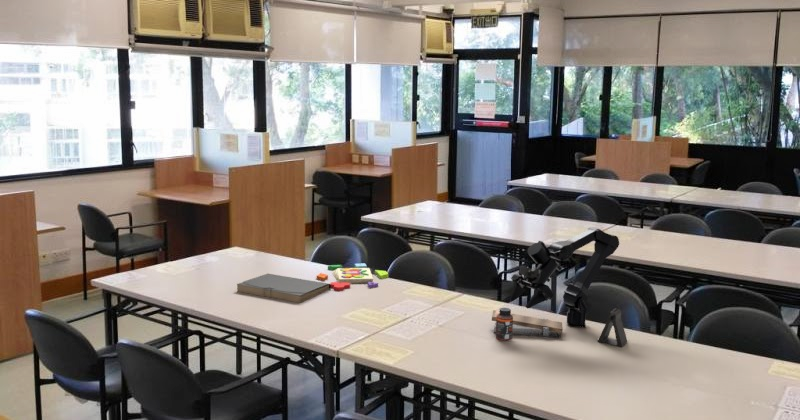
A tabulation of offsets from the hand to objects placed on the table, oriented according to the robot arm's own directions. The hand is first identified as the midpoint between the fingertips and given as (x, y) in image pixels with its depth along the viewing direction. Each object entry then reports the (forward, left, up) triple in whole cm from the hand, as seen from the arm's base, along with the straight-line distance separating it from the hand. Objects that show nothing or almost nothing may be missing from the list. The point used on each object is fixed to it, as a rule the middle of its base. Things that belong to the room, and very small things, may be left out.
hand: (518, 304), depth 267 cm
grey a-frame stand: (-34, -2, -12) cm, 36 cm away
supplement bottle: (+5, +4, -12) cm, 14 cm away
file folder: (+102, -36, -13) cm, 109 cm away
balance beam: (-3, -7, -9) cm, 12 cm away
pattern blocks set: (+78, -64, -13) cm, 102 cm away
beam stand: (-3, -7, -12) cm, 15 cm away
